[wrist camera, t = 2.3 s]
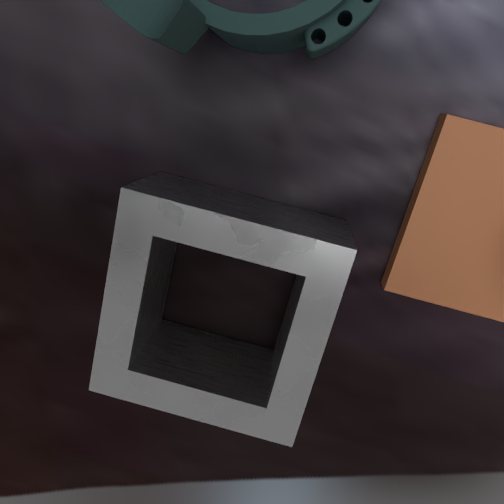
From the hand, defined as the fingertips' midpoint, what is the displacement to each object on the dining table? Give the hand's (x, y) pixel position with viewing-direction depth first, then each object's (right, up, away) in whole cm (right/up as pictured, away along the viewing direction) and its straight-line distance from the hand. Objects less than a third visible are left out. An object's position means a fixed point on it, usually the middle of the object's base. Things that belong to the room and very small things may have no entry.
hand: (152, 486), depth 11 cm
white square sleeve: (+1, +4, +12) cm, 13 cm away
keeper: (+15, +6, +10) cm, 19 cm away
